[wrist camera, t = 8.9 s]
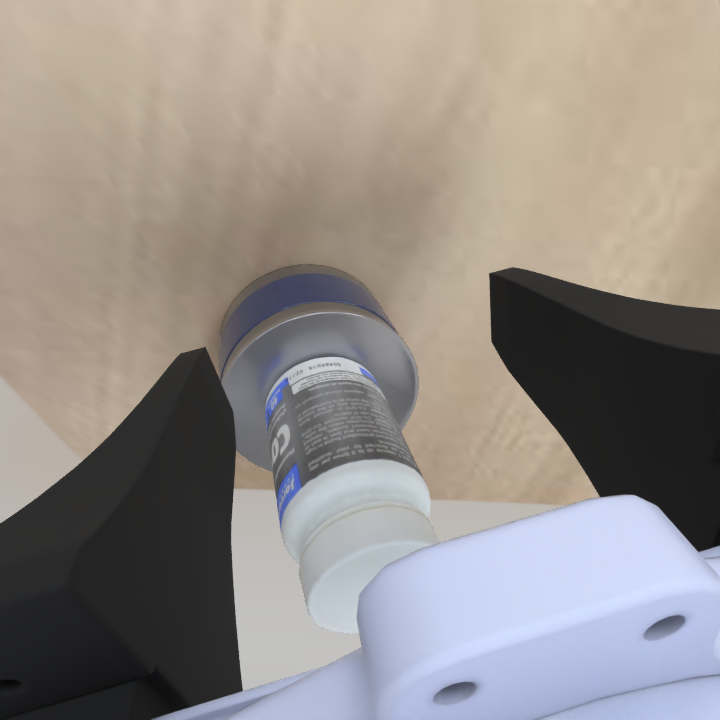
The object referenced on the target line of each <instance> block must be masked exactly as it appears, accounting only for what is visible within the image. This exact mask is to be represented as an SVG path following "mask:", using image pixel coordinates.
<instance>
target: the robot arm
mask: <svg viewBox="0 0 720 720" xmlns="http://www.w3.org/2000/svg"><path fill="white" fill-rule="evenodd" d="M489 278H490V309H491V340H492V343H493V345H494V347H495V349H496V350H497V352H498V354H499V356H500V358H501V359H502V361H503V362H504V364H505V366H506V367H507V369H508V371H509V372H510V373H511V374H512V376H513V377H514V378H515V380H516V381H517V382H518V383H519V385H520V386H521V387H522V388H523V389H524V391H525V392H526V393H527V394H528V396H529V397H530V398H531V399H532V400H533V402H534V403H535V404H536V405H537V407H538V408H539V409H540V410H541V411H542V413H543V414H544V415H545V416H546V418H547V419H548V420H549V421H550V422H551V424H552V425H553V426H554V427H555V428H556V430H557V431H558V432H559V434H560V435H561V436H562V438H563V439H564V440H565V442H566V443H567V445H568V446H569V448H570V449H571V451H572V452H573V454H574V455H575V457H576V459H577V460H578V462H579V463H580V465H581V466H582V468H583V469H584V471H585V473H586V474H587V476H588V477H589V479H590V481H591V482H592V484H593V486H594V487H595V489H596V491H597V492H598V494H599V496H600V497H599V498H591V499H587V500H584V501H581V502H577V503H574V504H570V505H567V506H564V507H560V508H557V509H553V510H550V511H547V512H543V513H540V514H536V515H533V516H529V517H526V518H523V519H519V520H516V521H512V522H509V523H506V524H502V525H499V526H495V527H492V528H489V529H485V530H482V531H478V532H475V533H472V534H468V535H465V536H461V537H458V538H455V539H451V540H448V541H444V542H441V543H437V544H434V545H431V546H427V547H424V548H421V549H419V550H416V551H414V552H412V553H410V554H408V555H406V556H404V557H402V558H400V559H397V560H395V561H393V562H391V563H389V564H387V565H386V566H385V567H384V568H383V569H382V570H381V571H380V572H379V573H378V574H377V575H376V576H375V577H374V578H373V579H372V580H371V582H370V583H369V584H368V585H367V586H366V587H365V588H364V589H363V590H362V592H361V593H360V594H359V601H358V608H357V616H356V620H357V625H358V630H359V635H360V640H361V645H362V647H361V648H359V649H357V650H355V651H353V652H351V653H350V654H348V655H346V656H344V657H342V658H340V659H338V660H336V661H334V662H332V663H330V664H328V665H326V666H324V667H320V668H317V669H314V670H311V671H308V672H304V673H301V674H298V675H295V676H291V677H288V678H284V679H281V680H278V681H275V682H271V683H268V684H265V685H261V686H258V687H255V688H252V689H249V690H245V691H243V689H242V680H241V672H240V661H239V650H238V640H237V628H236V616H235V603H234V588H233V573H232V572H233V571H232V553H231V552H232V551H231V519H232V503H233V489H234V475H235V458H236V435H235V424H234V413H233V409H232V407H231V405H230V402H229V400H228V398H227V395H226V393H225V391H224V389H223V386H222V384H221V382H220V379H219V377H218V375H217V373H216V370H215V368H214V366H213V363H212V361H211V359H210V356H209V354H208V352H207V350H206V347H204V348H200V349H197V350H193V351H189V352H185V353H181V354H180V355H179V356H178V357H177V358H176V359H175V360H174V361H173V362H172V364H171V365H170V366H169V367H168V368H167V370H166V371H165V372H164V373H163V375H162V376H161V377H160V378H159V380H158V381H157V382H156V383H155V385H154V386H153V387H152V388H151V390H150V391H149V392H148V393H147V394H146V396H145V397H144V398H143V399H142V401H141V402H140V403H139V404H138V405H137V406H136V407H135V408H134V410H133V411H132V412H131V413H130V414H129V415H128V416H127V417H126V418H125V420H124V421H123V422H122V423H121V424H120V425H119V426H118V427H117V428H116V429H115V431H114V432H113V433H112V434H111V435H110V436H109V437H108V438H107V439H106V440H105V441H104V442H103V443H102V444H101V445H100V446H99V447H98V448H96V449H95V450H94V451H93V452H92V453H91V454H90V455H89V456H88V457H87V458H85V459H84V460H83V461H82V462H81V463H80V464H79V465H78V466H77V467H75V468H74V469H73V470H72V471H70V472H69V473H68V474H67V475H65V476H64V477H63V478H62V479H60V480H59V481H58V482H57V483H56V484H54V485H53V486H51V487H50V488H49V489H48V490H46V491H45V492H44V493H43V494H41V495H40V496H39V497H38V498H36V499H35V500H33V501H32V502H31V503H29V504H28V505H26V506H25V507H24V508H22V509H21V510H19V511H18V512H17V513H15V514H14V515H12V516H11V517H9V518H8V519H6V520H5V521H3V522H2V523H0V720H720V310H717V309H706V308H694V307H686V306H677V305H670V304H664V303H658V302H652V301H645V300H640V299H635V298H630V297H625V296H621V295H616V294H612V293H608V292H604V291H600V290H596V289H592V288H588V287H584V286H581V285H577V284H574V283H570V282H567V281H563V280H560V279H557V278H553V277H550V276H546V275H543V274H539V273H536V272H532V271H528V270H524V269H520V268H513V267H512V268H508V269H504V270H501V271H497V272H493V273H489Z"/></svg>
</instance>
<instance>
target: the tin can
mask: <svg viewBox="0 0 720 720" xmlns="http://www.w3.org/2000/svg"><path fill="white" fill-rule="evenodd" d="M322 357H341V358H345V359H349V360H352V361H354V362H356V363H358V364H360V365H362V366H363V367H365V368H366V369H367V370H368V371H369V372H370V373H371V374H372V376H373V377H374V378H375V380H376V382H377V383H378V385H379V387H380V389H381V391H382V393H383V395H384V397H385V399H386V401H387V403H388V406H389V408H390V410H391V412H392V414H393V416H394V418H395V420H396V422H397V424H398V426H399V428H400V431H401V430H402V429H403V428H404V426H405V425H406V423H407V421H408V420H409V418H410V416H411V414H412V411H413V409H414V406H415V403H416V400H417V395H418V389H419V377H418V370H417V366H416V363H415V359H414V357H413V355H412V353H411V351H410V349H409V348H408V346H407V345H406V343H405V342H404V341H403V339H402V338H401V337H400V336H399V334H398V333H397V331H396V329H395V328H394V326H393V325H392V323H391V322H390V320H389V319H388V317H387V315H386V314H385V312H384V311H383V309H382V308H381V306H380V305H379V304H378V302H377V301H376V300H375V299H374V297H373V296H372V294H371V293H370V292H369V290H368V289H367V288H366V287H365V286H364V285H363V284H362V283H360V282H359V281H358V280H356V279H355V278H354V277H352V276H350V275H348V274H347V273H345V272H342V271H340V270H337V269H334V268H331V267H326V266H321V265H296V266H289V267H285V268H282V269H278V270H275V271H273V272H270V273H268V274H266V275H264V276H262V277H260V278H259V279H257V280H255V281H254V282H253V283H251V284H250V285H249V286H247V287H246V288H245V289H244V290H243V291H242V292H241V293H240V294H239V295H238V296H237V298H236V299H235V300H234V301H233V303H232V304H231V306H230V308H229V309H228V311H227V313H226V315H225V318H224V320H223V323H222V328H221V332H220V345H219V379H220V382H221V384H222V386H223V389H224V391H225V393H226V395H227V398H228V400H229V402H230V405H231V407H232V409H233V413H234V424H235V435H236V450H237V451H238V452H239V453H240V454H241V455H242V456H244V457H245V458H246V459H248V460H249V461H250V462H252V463H254V464H256V465H257V466H259V467H262V468H264V469H266V470H269V471H272V463H271V457H270V450H269V443H268V435H267V428H266V421H265V406H266V400H267V397H268V395H269V392H270V391H271V389H272V387H273V386H274V384H275V383H276V382H277V380H278V379H279V378H280V377H281V376H282V375H283V374H284V373H286V372H287V371H288V370H290V369H291V368H293V367H294V366H296V365H298V364H301V363H303V362H306V361H309V360H312V359H316V358H322Z"/></svg>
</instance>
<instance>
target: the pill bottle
mask: <svg viewBox="0 0 720 720" xmlns="http://www.w3.org/2000/svg"><path fill="white" fill-rule="evenodd" d="M265 421H266V428H267V435H268V443H269V450H270V457H271V463H272V472H273V478H274V485H275V492H276V498H277V507H278V514H279V520H280V528H281V534H282V538H283V541H284V544H285V547H286V549H287V551H288V553H289V554H290V555H291V557H292V558H293V559H294V560H295V561H296V562H297V563H298V564H299V566H300V567H299V576H300V581H301V584H302V588H303V593H304V597H305V602H306V606H307V610H308V613H309V615H310V617H311V618H312V620H313V621H314V622H315V623H316V624H318V625H319V626H321V627H323V628H324V629H327V630H329V631H333V632H338V633H359V630H358V625H357V620H356V616H357V608H358V601H359V594H360V593H361V592H362V590H363V589H364V588H365V587H366V586H367V585H368V584H369V583H370V582H371V580H372V579H373V578H374V577H375V576H376V575H377V574H378V573H379V572H380V571H381V570H382V569H383V568H384V567H385V566H386V565H387V564H389V563H391V562H393V561H395V560H397V559H400V558H402V557H404V556H406V555H408V554H410V553H412V552H414V551H416V550H419V549H421V548H424V547H427V546H431V545H434V544H437V543H440V542H439V540H438V538H437V535H436V533H435V531H434V529H433V527H432V525H431V523H430V521H429V516H430V509H431V500H430V495H429V491H428V488H427V485H426V482H425V480H424V478H423V476H422V474H421V472H420V470H419V468H418V466H417V464H416V462H415V460H414V458H413V456H412V454H411V452H410V450H409V447H408V446H407V444H406V442H405V439H404V437H403V435H402V433H401V431H400V428H399V426H398V424H397V422H396V420H395V418H394V416H393V414H392V412H391V410H390V408H389V406H388V403H387V401H386V399H385V397H384V395H383V393H382V391H381V389H380V387H379V385H378V383H377V382H376V380H375V378H374V377H373V376H372V374H371V373H370V372H369V371H368V370H367V369H366V368H365V367H363V366H362V365H360V364H358V363H356V362H354V361H352V360H349V359H345V358H341V357H322V358H316V359H312V360H309V361H306V362H303V363H301V364H298V365H296V366H294V367H293V368H291V369H290V370H288V371H287V372H286V373H284V374H283V375H282V376H281V377H280V378H279V379H278V380H277V382H276V383H275V384H274V386H273V387H272V389H271V391H270V392H269V395H268V397H267V400H266V406H265Z"/></svg>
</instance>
